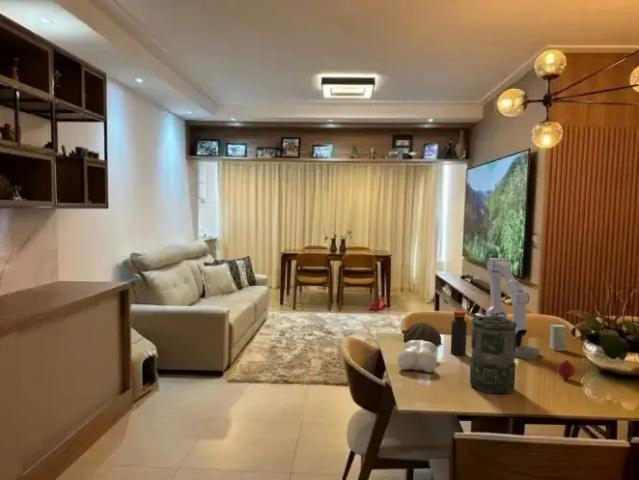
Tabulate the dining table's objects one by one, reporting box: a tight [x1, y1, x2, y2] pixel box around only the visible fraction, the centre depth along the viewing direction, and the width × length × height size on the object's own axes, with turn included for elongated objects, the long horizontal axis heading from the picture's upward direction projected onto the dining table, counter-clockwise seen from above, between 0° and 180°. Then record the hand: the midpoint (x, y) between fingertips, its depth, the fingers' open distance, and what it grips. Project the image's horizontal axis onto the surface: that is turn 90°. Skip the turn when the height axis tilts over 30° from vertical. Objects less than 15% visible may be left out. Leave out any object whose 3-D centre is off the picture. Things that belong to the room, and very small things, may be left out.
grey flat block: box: [514, 344, 540, 361], centre depth 229 cm, size 16×12×3 cm
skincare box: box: [549, 324, 567, 352], centre depth 239 cm, size 6×4×12 cm
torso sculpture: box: [397, 340, 438, 373], centre depth 209 cm, size 16×11×30 cm
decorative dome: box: [402, 322, 442, 346], centre depth 249 cm, size 19×20×10 cm
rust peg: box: [516, 335, 525, 349], centre depth 229 cm, size 3×3×8 cm
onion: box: [557, 359, 575, 380], centre depth 193 cm, size 6×6×8 cm
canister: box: [469, 312, 517, 394], centre depth 181 cm, size 16×16×28 cm
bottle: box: [450, 310, 468, 357], centre depth 227 cm, size 7×7×20 cm
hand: (518, 345), depth 229 cm, fingers closed on rust peg, 3 cm apart
